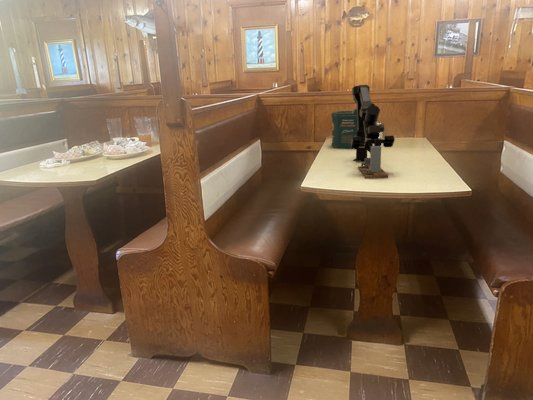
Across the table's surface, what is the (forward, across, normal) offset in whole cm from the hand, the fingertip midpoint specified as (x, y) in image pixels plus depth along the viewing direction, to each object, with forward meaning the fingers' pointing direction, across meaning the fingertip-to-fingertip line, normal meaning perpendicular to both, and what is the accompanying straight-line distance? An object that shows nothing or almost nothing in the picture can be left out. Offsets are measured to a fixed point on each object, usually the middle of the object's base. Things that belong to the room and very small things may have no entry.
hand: (374, 157), depth 193 cm
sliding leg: (+6, -1, +3) cm, 7 cm away
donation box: (-48, -2, +59) cm, 76 cm away
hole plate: (+3, 0, +9) cm, 9 cm away
